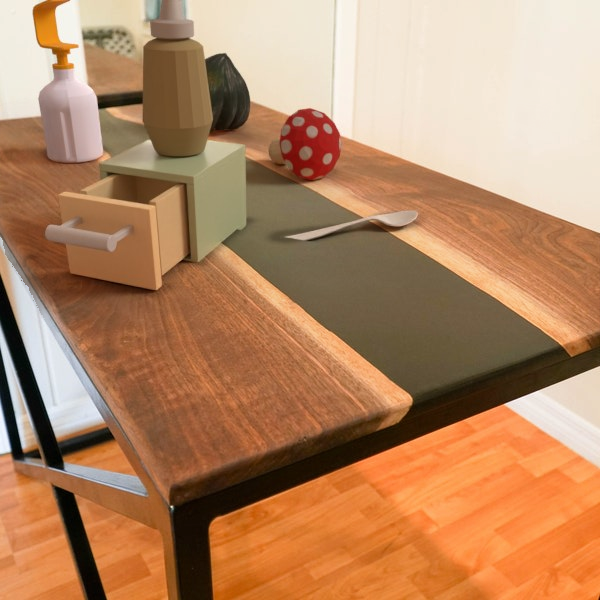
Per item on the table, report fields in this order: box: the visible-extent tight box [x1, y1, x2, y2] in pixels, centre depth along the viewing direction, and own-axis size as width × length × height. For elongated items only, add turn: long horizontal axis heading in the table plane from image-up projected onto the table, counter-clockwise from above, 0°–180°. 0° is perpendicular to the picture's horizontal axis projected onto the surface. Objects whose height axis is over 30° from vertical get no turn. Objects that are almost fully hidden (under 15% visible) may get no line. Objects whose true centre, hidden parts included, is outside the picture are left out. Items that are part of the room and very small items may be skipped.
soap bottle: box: [32, 0, 104, 164], centre depth 106 cm, size 9×9×25 cm
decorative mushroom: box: [268, 107, 342, 181], centre depth 105 cm, size 11×11×15 cm
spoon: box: [285, 209, 419, 242], centre depth 85 cm, size 4×21×2 cm, turn 114°
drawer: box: [44, 173, 191, 291], centre depth 70 cm, size 17×11×9 cm, turn 161°
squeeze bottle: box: [141, 0, 213, 156], centre depth 74 cm, size 8×8×18 cm
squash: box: [205, 52, 251, 134], centre depth 126 cm, size 14×15×15 cm
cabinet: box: [98, 139, 247, 263], centre depth 80 cm, size 14×12×11 cm
